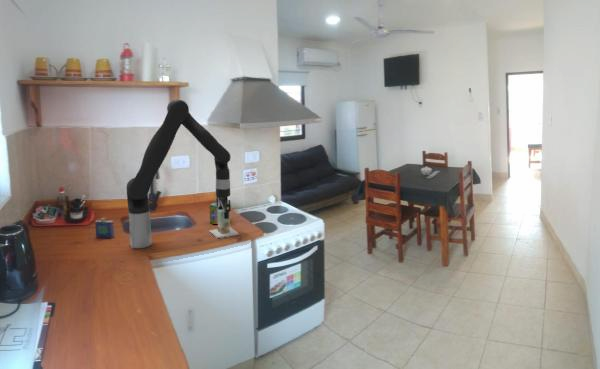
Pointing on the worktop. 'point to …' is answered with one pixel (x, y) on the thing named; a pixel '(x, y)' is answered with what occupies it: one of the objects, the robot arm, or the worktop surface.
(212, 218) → the chalk box
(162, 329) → the worktop surface
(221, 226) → the maple block
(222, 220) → the sage block
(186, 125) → the robot arm
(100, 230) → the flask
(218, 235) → the tile
